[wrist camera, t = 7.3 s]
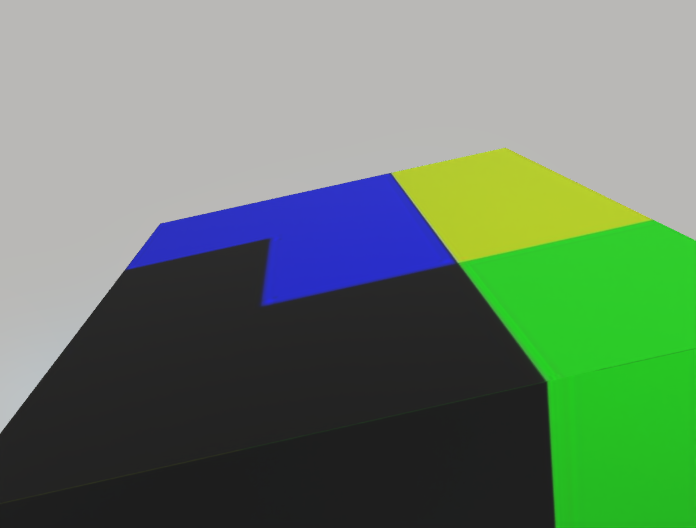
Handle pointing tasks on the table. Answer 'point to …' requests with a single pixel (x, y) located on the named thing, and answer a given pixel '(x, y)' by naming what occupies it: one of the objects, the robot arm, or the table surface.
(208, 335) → the puzzle toy
